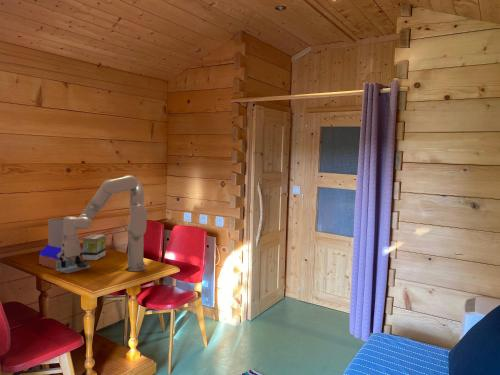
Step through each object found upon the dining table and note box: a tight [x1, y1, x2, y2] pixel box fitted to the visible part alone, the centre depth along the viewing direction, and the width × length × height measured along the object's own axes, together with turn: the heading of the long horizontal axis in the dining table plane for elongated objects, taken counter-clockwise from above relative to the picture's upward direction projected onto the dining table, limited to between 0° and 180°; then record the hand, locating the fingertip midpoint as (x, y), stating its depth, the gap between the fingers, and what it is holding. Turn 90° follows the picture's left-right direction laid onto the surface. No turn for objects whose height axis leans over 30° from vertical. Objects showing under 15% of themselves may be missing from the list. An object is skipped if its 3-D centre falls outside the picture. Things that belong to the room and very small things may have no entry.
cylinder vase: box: [47, 217, 65, 248], centre depth 270 cm, size 12×12×25 cm
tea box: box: [82, 234, 107, 261], centre depth 267 cm, size 15×10×15 cm, turn 179°
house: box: [38, 244, 76, 269], centre depth 246 cm, size 12×20×12 cm, turn 61°
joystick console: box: [55, 256, 91, 274], centre depth 239 cm, size 11×16×5 cm
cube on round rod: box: [77, 258, 89, 268], centre depth 241 cm, size 10×4×4 cm, turn 61°
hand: (70, 265), depth 234 cm, fingers open, 9 cm apart
